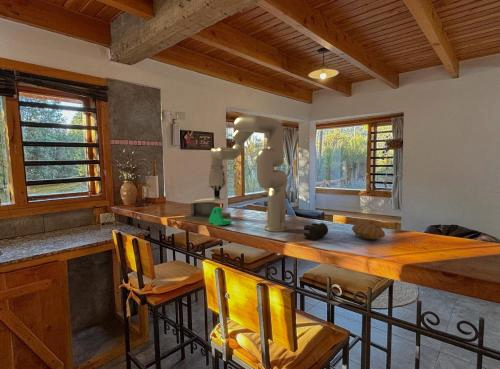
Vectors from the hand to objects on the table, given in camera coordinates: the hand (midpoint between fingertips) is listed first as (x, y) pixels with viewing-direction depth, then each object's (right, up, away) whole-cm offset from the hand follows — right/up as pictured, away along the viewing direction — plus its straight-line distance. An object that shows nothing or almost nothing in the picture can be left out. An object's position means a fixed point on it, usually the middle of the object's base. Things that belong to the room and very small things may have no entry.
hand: (216, 196), depth 179 cm
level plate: (-6, -3, +3) cm, 7 cm away
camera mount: (+4, -16, -16) cm, 23 cm away
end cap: (+52, -18, -49) cm, 73 cm away
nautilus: (+78, -18, -48) cm, 93 cm away
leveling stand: (-6, -14, +4) cm, 16 cm away
